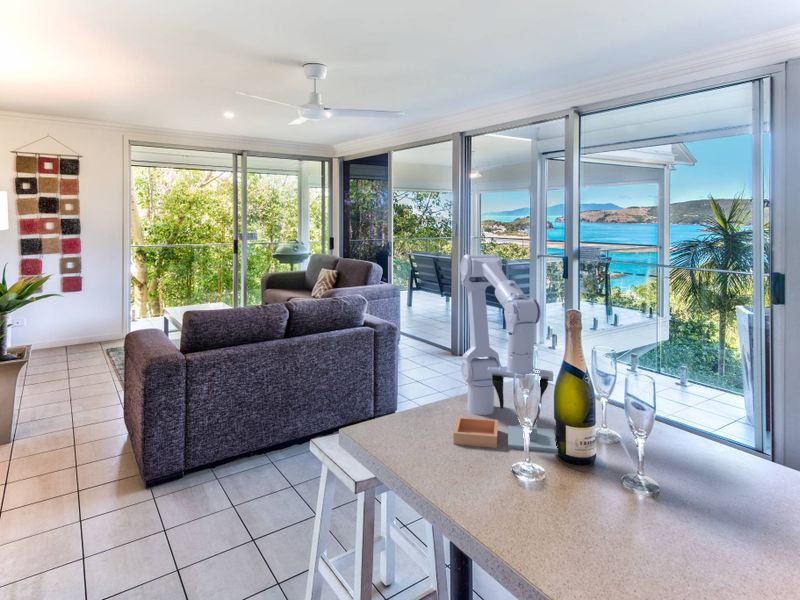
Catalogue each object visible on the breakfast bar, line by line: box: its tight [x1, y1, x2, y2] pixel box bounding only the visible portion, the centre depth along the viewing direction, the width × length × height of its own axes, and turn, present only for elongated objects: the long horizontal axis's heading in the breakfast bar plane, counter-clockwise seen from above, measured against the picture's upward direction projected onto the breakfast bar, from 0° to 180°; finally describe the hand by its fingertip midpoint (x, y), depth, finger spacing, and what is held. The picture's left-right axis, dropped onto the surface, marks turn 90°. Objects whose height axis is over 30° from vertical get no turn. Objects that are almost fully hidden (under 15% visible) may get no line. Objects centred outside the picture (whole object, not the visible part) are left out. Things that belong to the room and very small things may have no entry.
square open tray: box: [452, 416, 499, 449], centre depth 119 cm, size 10×10×4 cm
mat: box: [507, 447, 559, 455], centre depth 118 cm, size 13×11×1 cm
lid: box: [507, 422, 559, 453], centre depth 117 cm, size 11×11×4 cm
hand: (518, 408), depth 114 cm, fingers open, 7 cm apart
